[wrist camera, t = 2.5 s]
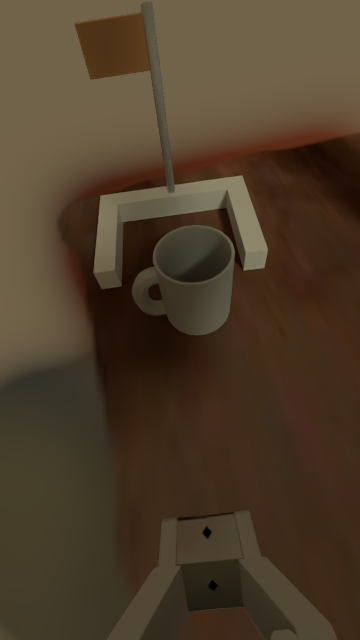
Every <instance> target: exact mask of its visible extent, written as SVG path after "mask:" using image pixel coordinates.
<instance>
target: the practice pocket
mask: <svg viewBox="0 0 360 640" xmlns="http://www.w3.org/2000/svg"><path fill="white" fill-rule="evenodd" d="M141 10H142V12H140V13H134V14H128V15H121V16H115V17H109V18H103V19H97V20H91V21H85V22H79V23H75V27H76V31H77V34H78V37H79V41H80V44H81V48H82V51H83V55H84V58H85V62H86V65H87V69H88V72H89V76H90V79H97V78H104V77H110V76H117V75H123V74H130V73H136V72H142V71H149V70H150V72H151V79H152V86H153V93H154V99H155V106H156V113H157V120H158V127H159V134H160V141H161V148H162V155H163V161H164V169H165V175H166V182H167V186H165V187H158V188H151V189H144V190H137V191H130V192H123V193H115V194H108V195H101V197H100V208H99V218H98V229H97V240H96V251H95V261H94V272H93V273H94V275H95V277H96V279H97V281H98V283H99V285H100V287H101V289H107V288H115V287H122V254H123V222H128V221H135V220H142V219H149V218H157V217H164V216H171V215H178V214H185V213H193V212H200V211H207V210H214V209H222V208H227V212H228V215H229V219H230V223H231V226H232V230H233V234H234V237H235V241H236V245H237V248H238V252H239V256H240V260H241V263H242V267H243V271H244V270H252V269H260V268H264V266H265V262H266V257H267V252H268V248H267V245H266V243H265V240H264V237H263V234H262V231H261V228H260V225H259V223H258V220H257V217H256V214H255V211H254V208H253V205H252V202H251V200H250V197H249V194H248V191H247V188H246V185H245V182H244V179H243V177H242V176H235V177H228V178H221V179H214V180H207V181H200V182H193V183H186V184H179V185H174V178H173V170H172V161H171V153H170V145H169V138H168V129H167V120H166V112H165V104H164V96H163V88H162V80H161V72H160V64H159V56H158V47H157V38H156V31H155V22H154V14H153V6H152V2H145V3H142V4H141Z"/></svg>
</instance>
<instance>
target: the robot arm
mask: <svg viewBox="0 0 360 640" xmlns="http://www.w3.org/2000/svg"><path fill="white" fill-rule="evenodd" d="M239 607H244V610H245V611H246V613H247V614H248V616H249V617H250V619H251V620H252V622H253V623H254V625H255V626H256V628H257V629H258V631H259V632H260V634H261V635H262V637H263V638H264V640H337V638H336V635H335V633H334V630H333V628H332V625H331V624H330V623H329V622H328V621H327V620H326V619H325V617H324V616H323V615H322V614H321V613H320V612H319V611H318V610H317V609H316V608H315V607H314V606H313V605H312V604H311V603H310V602H309V601H308V600H307V599H306V598H305V597H304V596H303V595H302V594H301V593H300V592H299V591H298V590H297V588H296V587H295V586H294V585H293V584H292V583H291V582H290V581H289V580H288V579H287V578H286V577H285V576H284V575H283V574H282V573H281V572H280V571H279V570H278V569H277V568H276V567H275V566H274V565H273V564H272V563H271V562H270V561H269V559H268V558H267V557H261V554H260V550H259V546H258V542H257V538H256V535H255V531H254V527H253V523H252V520H251V516H250V513H249V511H239V512H229V513H221V514H212V515H206V516H194V517H180V518H171V519H163V521H162V528H161V541H160V555H159V567H157V568H154V569H153V570H152V572H151V573H150V575H149V576H148V578H147V579H146V581H145V582H144V584H143V586H142V587H141V589H140V590H139V592H138V593H137V595H136V596H135V598H134V599H133V601H132V602H131V604H130V605H129V607H128V608H127V610H126V612H125V613H124V615H123V616H122V617H121V619H120V621H119V622H118V624H117V625H116V627H115V628H114V630H113V631H112V633H111V634H110V636H109V637H108V639H107V640H179V638H180V635H181V633H182V630H183V628H184V625H185V623H186V621H187V618H188V616H189V612H195V611H202V610H210V609H221V608H239Z"/></svg>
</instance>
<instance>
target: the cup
mask: <svg viewBox="0 0 360 640" xmlns="http://www.w3.org/2000/svg"><path fill="white" fill-rule="evenodd" d="M234 256H235V250H234V246H233V243H232V242H231V240H230V239H229V237H228V236H226V235H225V234H224V233H223V232H221V231H219V230H217V229H215V228H212V227H208V226H202V225H192V226H184V227H181V228H178V229H175V230H173V231H171V232H169V233H168V234H166V235H165V236H164V237H163V238H161V239H160V240H159V242H158V243H157V245H156V246H155V249H154V252H153V264H154V267H150V268H147V269H145V270H143V271H141V272H140V273H139V274H138V276H137V277H136V278H135V281H134V283H133V286H132V296H133V299H134V301H135V303H136V304H137V305H138V307H139V308H140V309H141V310H142V311H143V312H145V313H146V314H149V315H153V316H155V315H165V314H166V315H167V317H168V319H169V322H170V323H171V324H172V325H173V327H174V328H176V329H177V330H179V331H180V332H183V333H185V334H188V335H206V334H209V333H211V332H214V331H215V330H217V329H218V328H220V327H221V326H222V325H223V324H224V323H225V321H226V320H227V317H228V315H229V312H230V303H231V291H232V279H233V268H234ZM156 284H159V288H160V292H161V296H162V300H158V301H156V300H152V299H151V298H150V296H149V293H148V289H149V288H150V287H151V286H153V285H156Z"/></svg>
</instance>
